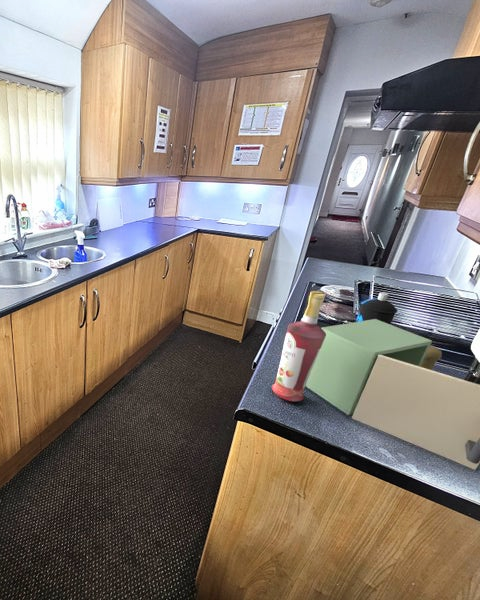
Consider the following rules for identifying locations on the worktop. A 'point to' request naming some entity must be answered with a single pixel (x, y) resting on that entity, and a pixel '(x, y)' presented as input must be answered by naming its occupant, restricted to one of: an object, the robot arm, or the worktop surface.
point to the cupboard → (359, 358)
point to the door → (423, 409)
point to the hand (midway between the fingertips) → (471, 393)
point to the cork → (431, 358)
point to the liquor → (300, 352)
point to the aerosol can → (377, 309)
